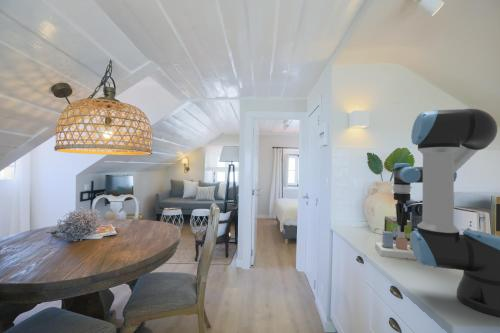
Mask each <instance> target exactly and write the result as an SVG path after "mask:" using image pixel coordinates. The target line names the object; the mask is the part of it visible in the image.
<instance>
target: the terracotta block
mask: <svg viewBox="0 0 500 333" xmlns="http://www.w3.org/2000/svg"><path fill="white" fill-rule="evenodd" d="M396 248H397V249H402V250H407V239H406V238H399V237H396Z"/></svg>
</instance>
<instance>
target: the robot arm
mask: <svg viewBox="0 0 500 333" xmlns="http://www.w3.org/2000/svg"><path fill="white" fill-rule="evenodd" d="M497 134H498V125H497V121H496V120H495V118H494V117H493V116H492V115H491V114H490V113H488V112H486V111H484V110H483V109H479V108H478V109H477V108H464V109H462V108H461V109H459V108H458V109H434V110H427V111H422V112H420V113H419V114H418V115H417V116H416V117H415V120H414V123H413V125H412V130H411V143H412V144H413V145H414V146H417V151H418V152H420V153H421V154H422V166H412V165H411V164H410V163H407V162H406V163H405V162H404V163H403V162H401V163H399V162H397V163H394V165H393V169H392V170H393V190H392V191H393V200H394V201H396V203H395V204H394V206H395V215H396V216H395V217H397V223H398V237H399V238H405V225H407V220H408V215H409V210H410V208H409V207H408V203H407V202H409V201H411V189H412V186H411V184H413V183H417V184H418V183H419V184H422V207H421V208H422V211H421V212H422V221H421V222H419V223H418V224H417V227H416V230H411V245H412V249H413V252H414V255H415V257H416V259H417V260H416V259H415V260H416V261H417V262H418V263H419V264H420V265H422V266H426V267H433V268H437V269H438V268H439V269H447V270H449V269H450V270H457V271H458V270H459V271H462V272H463V275H462V277H461V280H460V282H459V284H458V286H457V288H456V298H457V299H458V300H459V302H461V303H462V304H464V305H465V306H468V307H469V308H471V309H473V310H476V311H479V312H482V313H485V314H487V315H491V316H495V317H500V236H499V235H496V234H492V233H489V232H484V231H479V230H474V229H464V230H463V232H462V234H460V230H459V228H457V226H455V225H454V216H455V214H454V211H455V210H454V206H455V205H454V203H455V202H454V194H455V193H454V192H455V191H454V189H455V187H454V186H455V182H456V179H457V178H458V177H457V176H458V173H457V171H458V170H459V169H460V168H462V167H463V166H464V165H465V164H466V163H467V162H468V161H469V160H470V159H471V158H472V157H473V156H474V155H475V154H476V153H477V152H479V151H482V150H484V149H486V148H488V146H490V145H491V143H493V142H494V140H495V139H496V136H497Z"/></svg>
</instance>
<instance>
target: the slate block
mask: <svg viewBox="0 0 500 333" xmlns="http://www.w3.org/2000/svg"><path fill="white" fill-rule="evenodd" d="M381 243H382V244H383V245H384V246H387V247H393V233H392V232H389V231H384V230H382V242H381Z"/></svg>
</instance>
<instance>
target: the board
mask: <svg viewBox="0 0 500 333" xmlns="http://www.w3.org/2000/svg"><path fill="white" fill-rule="evenodd" d="M374 248H375V250H376V251H377V252H378V253H379V254H380V256H381V257H387V258H398V259H406V258H408V260H416V257H415V255H414V252H413V249H412V248H411V247H410V245H407V250H402V249H397V248H396V244H393V247H387V246H384V245H383V244H382V242H376V241H375V242H374Z"/></svg>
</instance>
